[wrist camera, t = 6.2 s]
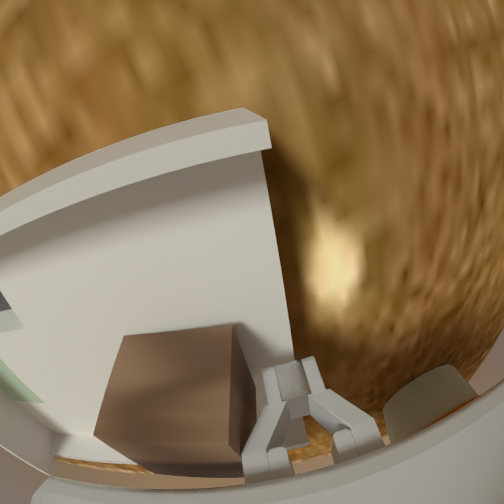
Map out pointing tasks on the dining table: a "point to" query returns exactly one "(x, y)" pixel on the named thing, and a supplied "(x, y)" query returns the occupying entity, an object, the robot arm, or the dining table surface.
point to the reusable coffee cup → (426, 401)
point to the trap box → (133, 274)
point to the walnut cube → (180, 403)
